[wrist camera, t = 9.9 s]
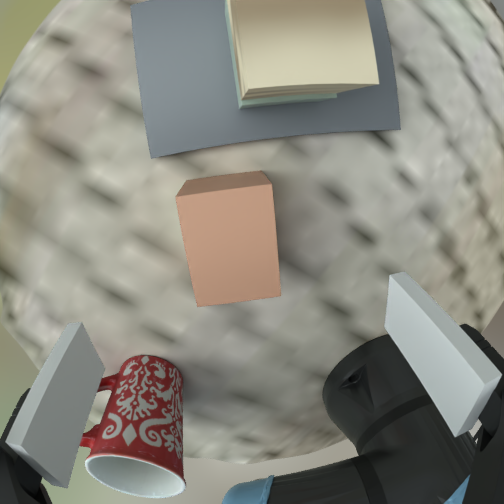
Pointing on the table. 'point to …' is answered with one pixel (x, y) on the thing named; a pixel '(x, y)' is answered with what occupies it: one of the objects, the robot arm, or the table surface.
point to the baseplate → (210, 90)
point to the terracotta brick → (230, 237)
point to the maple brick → (301, 47)
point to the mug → (140, 430)
